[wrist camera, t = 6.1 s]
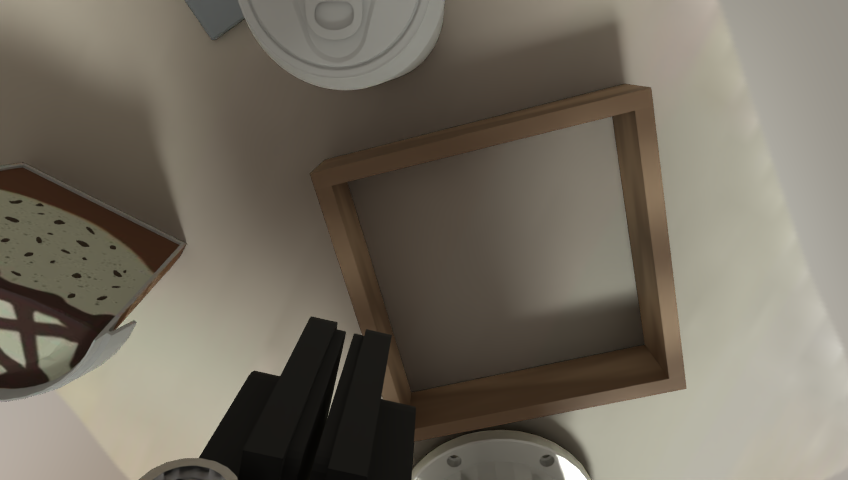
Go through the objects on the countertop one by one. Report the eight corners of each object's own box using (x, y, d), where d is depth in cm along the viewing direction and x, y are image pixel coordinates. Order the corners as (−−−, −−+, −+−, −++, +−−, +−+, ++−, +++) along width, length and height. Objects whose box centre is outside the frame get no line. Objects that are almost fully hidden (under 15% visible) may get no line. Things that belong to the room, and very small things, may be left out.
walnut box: (660, 353, 32) (686, 388, 28) (401, 405, 33) (397, 444, 30) (624, 83, 27) (651, 87, 23) (324, 159, 28) (309, 173, 25)
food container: (-33, 244, 30) (-246, 329, 21) (-5, 148, 29) (-225, 193, 19) (173, 340, 32) (62, 460, 23) (211, 255, 30) (108, 347, 21)
